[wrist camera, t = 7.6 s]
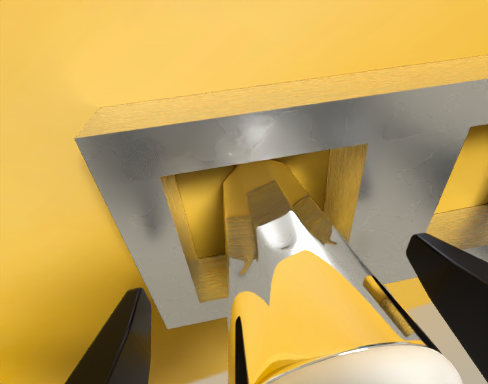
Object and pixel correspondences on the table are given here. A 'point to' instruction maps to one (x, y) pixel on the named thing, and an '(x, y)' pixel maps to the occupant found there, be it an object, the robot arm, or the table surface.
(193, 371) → the table surface
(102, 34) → the table surface
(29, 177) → the table surface
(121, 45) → the table surface
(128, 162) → the block
